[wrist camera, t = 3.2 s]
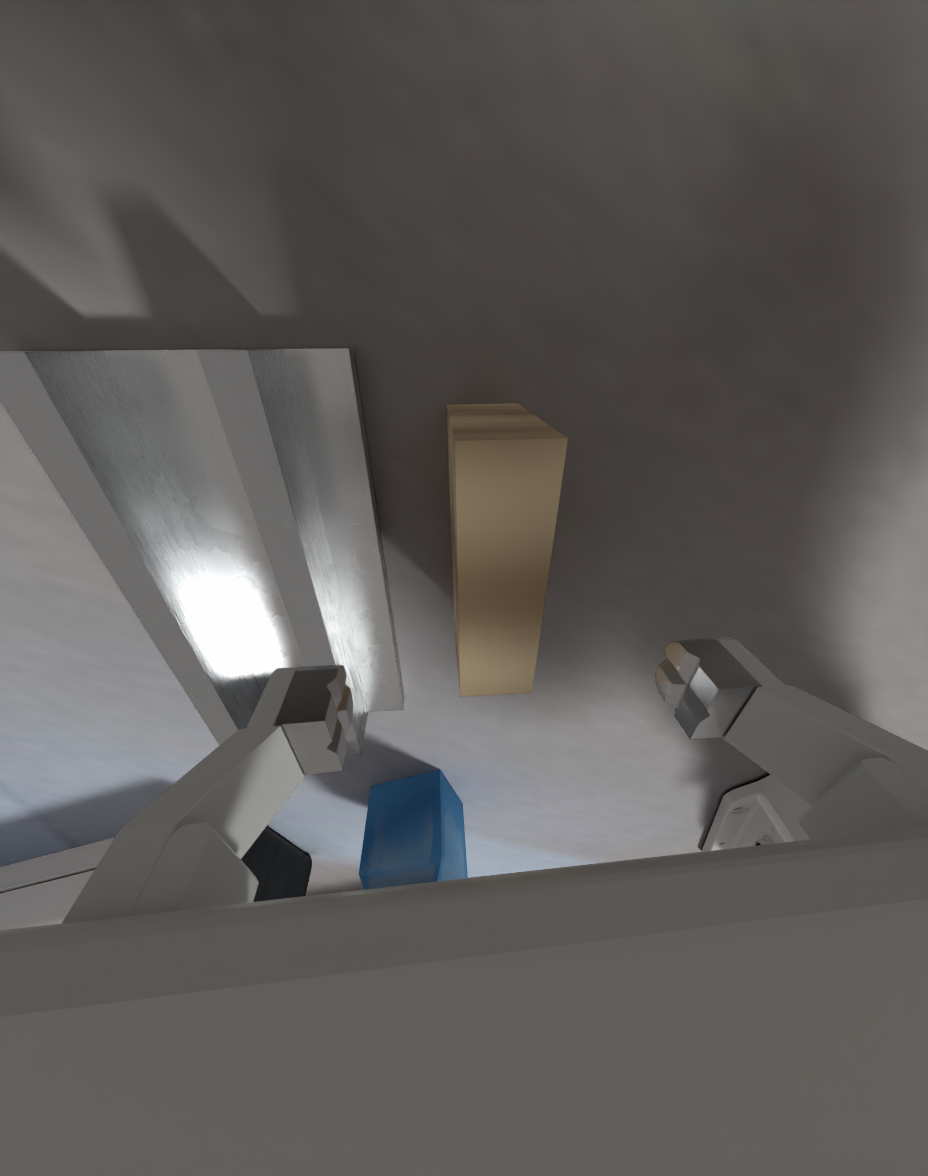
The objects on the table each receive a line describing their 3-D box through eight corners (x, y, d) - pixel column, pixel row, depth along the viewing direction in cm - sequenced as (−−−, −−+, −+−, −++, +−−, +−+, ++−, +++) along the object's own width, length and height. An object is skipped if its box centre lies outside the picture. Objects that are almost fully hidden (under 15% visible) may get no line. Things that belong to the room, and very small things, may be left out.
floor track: (404, 697, 25) (400, 751, 22) (222, 709, 24) (189, 766, 21) (353, 347, 14) (329, 349, 11) (17, 350, 13) (-122, 353, 10)
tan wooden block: (504, 596, 21) (531, 692, 15) (452, 598, 21) (460, 696, 15) (517, 403, 16) (567, 438, 10) (446, 404, 15) (455, 441, 10)
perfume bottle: (462, 803, 34) (475, 996, 24) (399, 818, 34) (386, 1012, 24) (440, 769, 30) (444, 977, 20) (370, 786, 31) (341, 995, 21)
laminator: (44, 914, 41) (-11, 995, 36) (-77, 875, 35) (-166, 968, 30) (316, 849, 37) (297, 930, 32) (238, 792, 31) (199, 882, 26)
